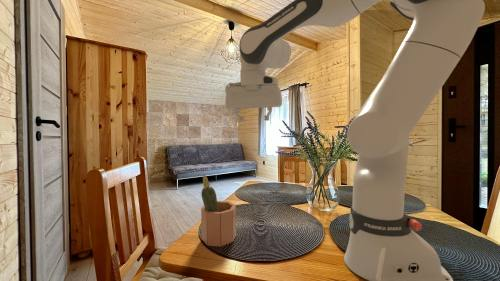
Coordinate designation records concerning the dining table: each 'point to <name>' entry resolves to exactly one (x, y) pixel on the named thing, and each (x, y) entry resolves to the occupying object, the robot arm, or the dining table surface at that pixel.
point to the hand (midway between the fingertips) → (253, 120)
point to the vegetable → (209, 196)
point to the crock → (219, 224)
